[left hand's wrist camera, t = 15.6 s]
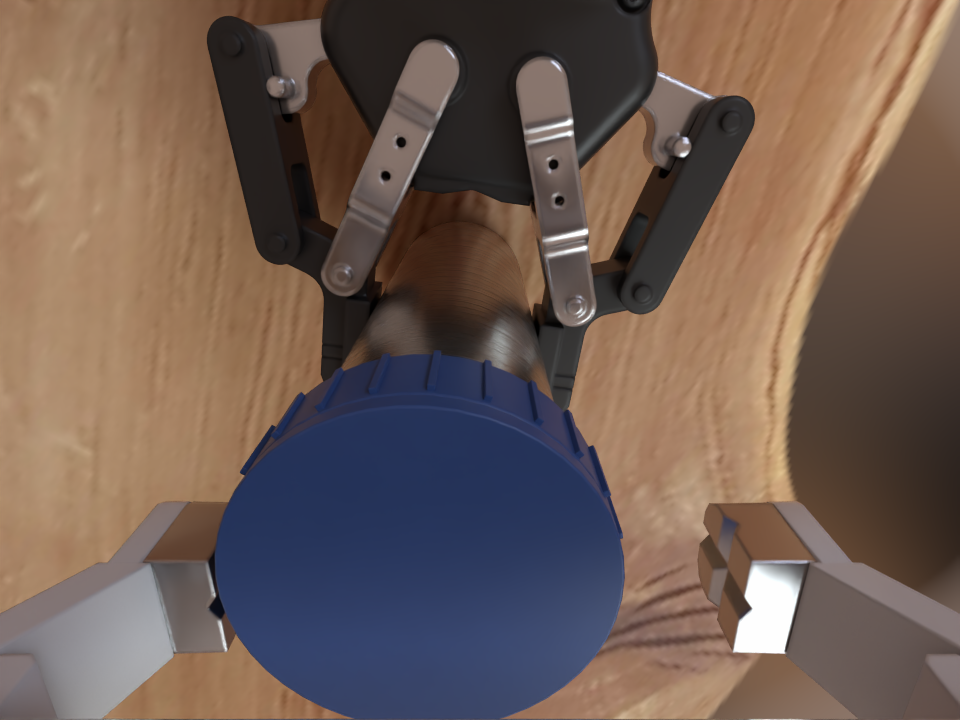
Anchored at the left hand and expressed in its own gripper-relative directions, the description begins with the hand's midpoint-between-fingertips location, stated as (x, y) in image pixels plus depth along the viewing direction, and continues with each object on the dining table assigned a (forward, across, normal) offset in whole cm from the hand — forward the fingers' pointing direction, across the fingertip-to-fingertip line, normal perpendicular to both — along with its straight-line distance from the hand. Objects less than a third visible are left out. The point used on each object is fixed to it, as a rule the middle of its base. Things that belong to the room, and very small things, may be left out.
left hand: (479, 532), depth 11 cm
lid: (-2, -1, +1) cm, 2 cm away
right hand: (+9, -1, -2) cm, 9 cm away
